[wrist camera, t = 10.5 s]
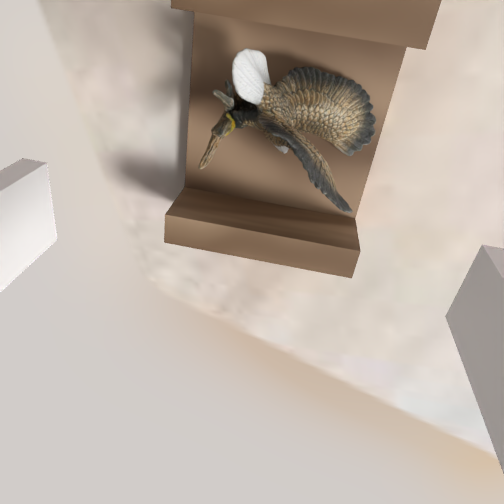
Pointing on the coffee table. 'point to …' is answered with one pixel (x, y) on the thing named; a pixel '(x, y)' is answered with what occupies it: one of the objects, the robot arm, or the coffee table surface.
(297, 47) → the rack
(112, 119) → the coffee table surface
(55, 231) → the robot arm
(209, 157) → the eagle figurine
